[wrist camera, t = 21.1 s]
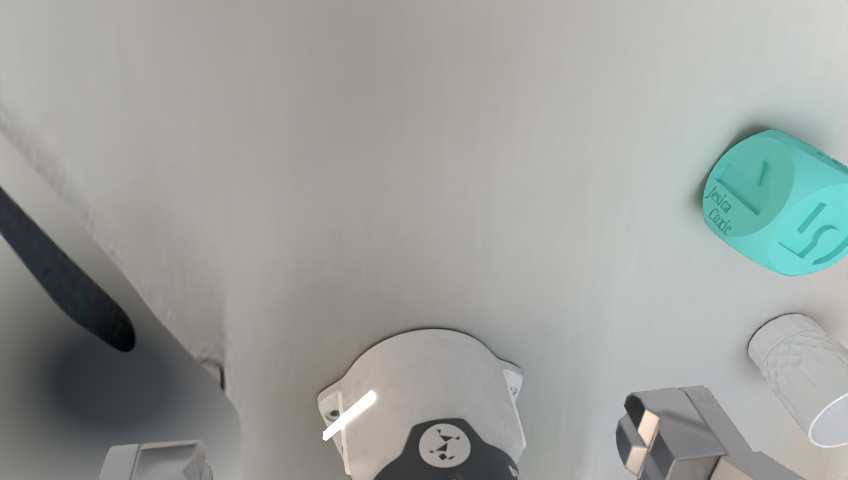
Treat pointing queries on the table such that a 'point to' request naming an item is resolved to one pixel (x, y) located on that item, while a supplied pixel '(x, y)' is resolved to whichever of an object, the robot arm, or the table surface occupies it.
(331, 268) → the table surface
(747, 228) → the decorative dice
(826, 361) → the white cup
